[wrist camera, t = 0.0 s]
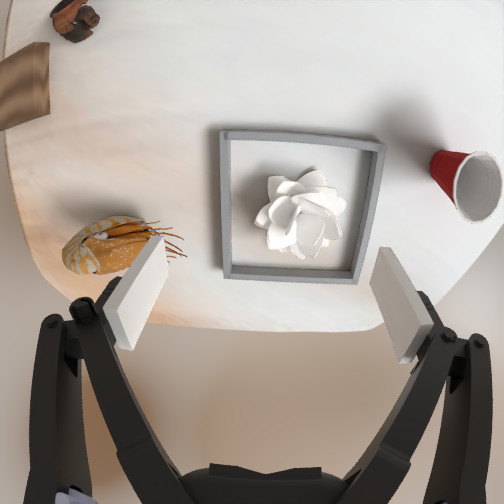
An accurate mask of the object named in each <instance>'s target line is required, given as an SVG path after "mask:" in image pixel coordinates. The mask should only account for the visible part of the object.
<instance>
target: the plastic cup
mask: <svg viewBox="0 0 504 504" xmlns="http://www.w3.org/2000/svg"><path fill="white" fill-rule="evenodd" d="M430 172H431V175H432V177H433V178H434V180H435V181H436V182H437V183H438V185H439V186H440V187H441V188H442V190H443V191H444V192H445V193H446V194H447V196H448V197H449V198H450V199H451V200H452V202H453V203H454V204H455V207H456V209H457V211H458V212H459V214H460V215H461V217H462V218H463V219H464V220H465V221H467V222H469V223H471V224H476V223H482V222H484V221H485V220H487V219H488V218H490V217H491V216H492V214H493V213H494V212H495V210H496V209H497V208H498V205H499V203H500V200H501V197H502V192H503V176H502V171H501V167H500V166H499V164H498V162H497V160H496V158H495V157H493V156H492V155H491V154H489V153H488V152H483V151H475V152H474V153H472V154H467V153H460V152H451V151H440V152H438V153H436V154H435V155H434V156H433V157H432V160H431V162H430Z"/></svg>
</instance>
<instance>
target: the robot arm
mask: <svg viewBox="0 0 504 504" xmlns="http://www.w3.org/2000/svg"><path fill="white" fill-rule="evenodd" d="M168 275H169V268H168V262H167V256H166V250H165V243H164V237H163V236H151V238H150V239H149V240H148V242H147V243H146V244H145V246H144V247H143V249H142V250H141V251H140V253H139V254H138V256H137V257H136V258H135V260H134V261H133V263H132V264H131V266H130V267H129V269H128V270H127V271H126V273H125V274H124V276H123V277H118V276H117V277H115V278H114V279H113V280H111V281H110V282H109V284H108V285H107V286H106V289H104V291H103V292H102V294H101V295H100V297H99V298H98V300H97V301H96V303H94V301H93V300H92V299H91V298H89V297H81V298H78V299H76V300H75V301H74V302H72V303H71V305H70V307H69V311H70V314H71V316H72V318H73V320H70V321H64V320H63V318H62V316H61V315H59V314H51V315H49V316H47V317H46V318H45V319H44V320H43V322H42V324H41V328H40V333H39V339H38V344H37V350H36V356H35V363H34V370H33V379H32V388H31V389H32V390H31V400H30V421H29V422H30V423H29V447H30V448H29V450H30V472H29V476H28V481H27V486H26V491H25V496H24V502H23V504H98V503H97V501H95V500H94V499H93V498H92V484H91V477H90V471H89V465H88V458H87V451H86V444H85V435H84V424H83V409H82V386H81V385H82V384H81V359H84V361H85V364H86V367H87V371H88V374H89V377H90V380H91V383H92V387H93V390H94V393H95V395H96V398H97V401H98V404H99V406H100V409H101V412H102V414H103V417H104V419H105V422H106V424H107V427H108V429H109V432H110V434H111V436H112V439H113V441H114V443H115V445H116V448H117V453H116V454H117V457H118V460H119V462H120V464H121V466H122V468H123V470H124V472H125V474H126V476H127V478H128V480H129V482H130V483H131V485H132V487H133V489H134V491H135V492H136V494H137V496H138V497H139V499H140V501H141V503H142V504H388V502H389V501H390V500H391V497H392V496H393V495H394V494H395V492H396V490H397V489H398V487H399V486H400V484H401V482H402V481H403V479H404V477H405V476H406V474H407V472H408V471H409V469H410V466H411V463H410V458H411V456H412V455H413V453H414V451H415V449H416V447H417V445H418V443H419V441H420V440H421V438H422V436H423V433H424V431H425V429H426V427H427V425H428V423H429V421H430V418H431V416H432V414H433V411H434V409H435V407H436V404H437V402H438V399H439V397H440V394H441V392H442V389H443V386H444V384H445V381H446V390H445V400H444V408H443V415H442V422H441V428H440V434H439V439H438V445H437V450H436V454H435V458H434V463H433V467H432V471H431V475H430V478H429V482H428V485H427V489H426V493H425V496H424V500H423V504H486V491H485V484H486V478H487V472H488V465H489V458H490V448H491V436H492V414H493V407H492V406H493V405H492V404H493V398H492V373H491V360H490V350H489V344H488V341H487V340H486V338H485V337H483V336H482V335H480V334H477V333H475V334H472V335H471V337H470V338H469V339H468V340H466V339H461V338H458V337H457V335H456V333H455V332H454V331H453V330H451V329H450V328H447V327H444V325H443V323H442V321H441V320H440V318H439V316H438V314H437V312H436V310H434V309H435V308H434V307H433V305H432V303H431V301H430V300H429V298H428V296H427V295H425V294H424V293H423V292H422V291H416V289H415V287H414V286H413V284H412V282H411V280H410V279H409V277H408V275H407V273H406V272H405V270H404V268H403V267H402V265H401V263H400V262H399V260H398V259H397V257H396V255H395V254H394V252H393V251H392V249H391V248H389V247H380V248H379V252H378V255H377V259H376V263H375V266H374V270H373V273H372V276H371V280H370V286H371V288H372V291H373V293H374V296H375V298H376V301H377V303H378V306H379V308H380V311H381V313H382V316H383V319H384V321H385V324H386V327H387V330H388V332H389V335H390V338H391V341H392V343H393V347H394V350H395V353H396V355H397V359H398V361H399V363H408V362H412V361H413V359H414V357H415V356H416V355H417V357H418V360H419V361H418V362H417V364H416V365H415V367H414V368H413V370H412V371H411V373H410V374H411V376H410V378H409V380H408V382H407V384H406V386H405V387H404V390H403V391H402V393H401V395H400V397H399V398H398V400H397V402H396V404H395V405H394V407H393V409H392V411H391V412H390V414H389V416H388V417H387V419H386V421H385V422H384V424H383V425H382V427H381V428H380V430H379V432H378V433H377V435H376V436H375V438H374V439H373V441H372V442H371V444H370V445H369V446H368V448H367V449H366V451H365V452H364V453H363V455H362V456H361V458H360V459H359V460H358V462H357V463H356V464H355V466H354V467H353V468H352V469H351V470H350V471H349V472H348V473H347V474H346V475H345V477H344V478H343V479H340V478H338V477H336V476H334V475H331V474H328V473H324V472H321V467H313V468H293V469H289V470H284V471H280V472H275V473H270V474H262V473H259V472H255V471H252V470H248V469H245V468H242V467H238V466H230V465H221V464H213V463H210V467H209V468H204V469H199V470H195V471H192V472H190V473H187V474H185V475H184V476H182V475H181V474H180V472H179V471H178V469H177V468H176V466H175V465H174V464H173V462H172V461H171V459H170V458H169V456H168V455H167V453H166V452H165V450H164V448H163V447H162V445H161V443H160V442H159V440H158V438H157V437H156V435H155V433H154V431H153V429H152V428H151V426H150V424H149V422H148V420H147V418H146V417H145V414H144V413H143V411H142V409H141V407H140V405H139V403H138V401H137V399H136V397H135V394H134V392H133V391H132V388H131V386H130V384H129V382H128V380H127V378H126V375H125V373H124V371H123V368H122V366H121V364H120V361H119V359H118V356H117V354H116V352H115V349H114V347H113V346H114V344H115V342H116V341H117V343H118V346H119V348H121V349H126V350H131V351H133V349H134V347H135V345H136V343H137V340H138V338H139V336H140V334H141V331H142V329H143V327H144V325H145V323H146V320H147V318H148V316H149V314H150V312H151V310H152V308H153V306H154V303H155V301H156V299H157V297H158V295H159V293H160V291H161V289H162V287H163V285H164V283H165V281H166V279H167V277H168Z"/></svg>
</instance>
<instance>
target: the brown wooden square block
mask: <svg viewBox="0 0 504 504" xmlns="http://www.w3.org/2000/svg"><path fill="white" fill-rule="evenodd" d="M49 46H50V43H43V42H34V43H32V44H30V45H28V46H26V47H25V48H23V49H21V50H19V51H18V52H16V53H14V54H13V55H11V56H9V57H8V58H6V59H5V60H3V61H1V62H0V131H3V130H6V129H9V128H11V127H14V126H16V125H19V124H22V123H24V122H27V121H30V120H33V119H36V118H39V117H42V116H45V115H48V114H50V100H49Z"/></svg>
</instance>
